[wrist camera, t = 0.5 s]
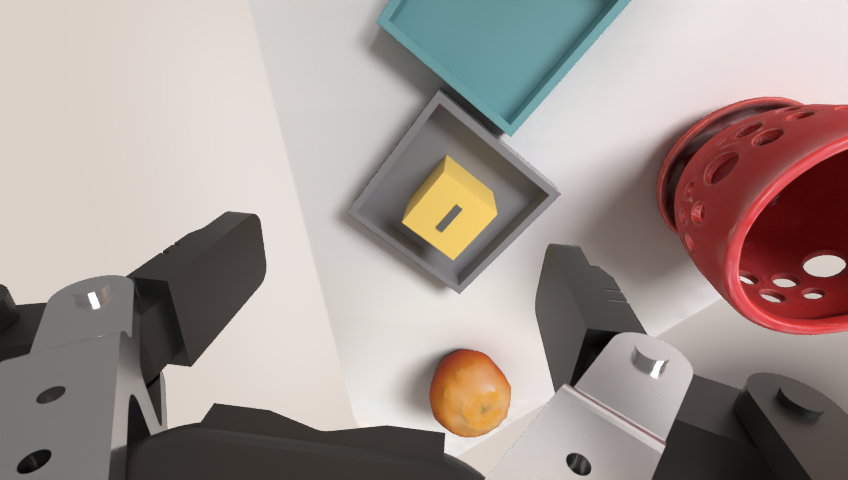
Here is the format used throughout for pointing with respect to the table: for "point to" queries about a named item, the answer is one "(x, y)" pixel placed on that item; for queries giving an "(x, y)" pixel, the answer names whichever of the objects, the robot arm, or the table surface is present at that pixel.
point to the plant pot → (765, 208)
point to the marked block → (450, 208)
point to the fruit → (469, 394)
